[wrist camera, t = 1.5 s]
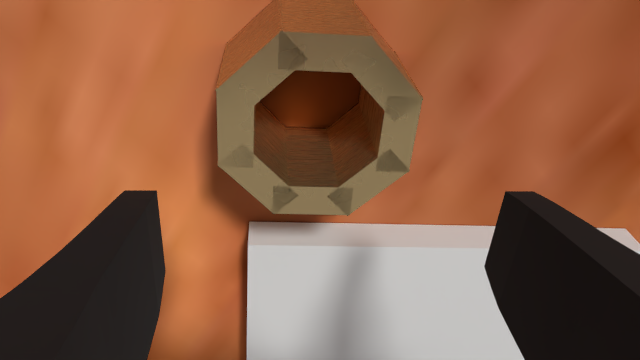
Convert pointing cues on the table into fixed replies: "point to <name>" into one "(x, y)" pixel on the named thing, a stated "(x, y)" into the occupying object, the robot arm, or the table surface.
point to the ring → (312, 143)
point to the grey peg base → (375, 292)
